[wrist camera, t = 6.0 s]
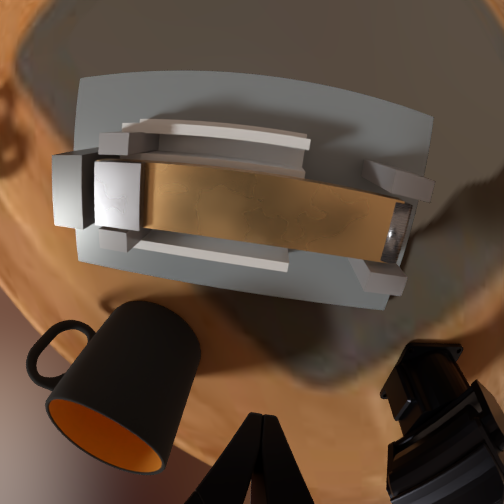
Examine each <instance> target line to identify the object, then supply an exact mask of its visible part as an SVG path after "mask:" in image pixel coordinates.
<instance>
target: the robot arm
mask: <svg viewBox="0 0 504 504" xmlns="http://www.w3.org/2000/svg"><path fill="white" fill-rule="evenodd" d="M411 348H412V349H411ZM462 351H463V347H462V345H461V344H431V343H409V344H407V345H406V346H405V348H404V350H403V352H402V354H401V356H400V358H399V360H398V362H397V363H396V365H395V367H394V368H393V370H392V372H391V374H390V376H389V377H388V379H387V381H386V383H385V384H384V387H383V388H382V390H381V392H380V397H381V398H382V399H388V401H389V404H390V407H391V411H392V414H393V417H394V419H395V421H399V423H400V427H401V430H402V434H403V437H402V438H400V439H399V440H397V441H396V442H392V443H390V444H389V445H388V463H387V481H386V482H387V487H386V490H387V492H388V494H389V496H390V498H391V499H390V501H391V503H392V504H504V413H503V411H502V410H501V408H500V406H499V405H498V403H497V401H496V400H495V398H494V396H493V395H492V394H491V393H490V392H489V391H488V390H487V389H486V388H485V387H484V386H483V385H482V384H481V383H480V382H479V381H478V380H477V379H476V380H475V381H474V382H473V383H472V384H471V386H470V385H469V384H468V382H467V380H466V378H465V376H464V375H463V373H462V371H461V370H460V368H459V366H458V364H457V363H456V361H457V360H458V358H459V356H460V355H461V353H462ZM250 481H251V502H250V503H251V504H314V501H313V499H312V497H311V495H310V492H309V490H308V488H307V486H306V483H305V481H304V479H303V477H302V474H301V472H300V470H299V468H298V465H297V463H296V461H295V458H294V456H293V454H292V451H291V449H290V447H289V444H288V442H287V440H286V437H285V435H284V432H283V430H282V428H281V425H280V423H279V420H278V418H277V417H276V416H274V415H267V414H265V415H262V414H260V413H253V412H250V413H249V414H248V416H247V417H246V419H245V420H244V422H243V423H242V425H241V426H240V428H239V429H238V431H237V432H236V434H235V435H234V437H233V438H232V440H231V441H230V443H229V444H228V445H227V447H226V448H225V450H224V451H223V453H222V454H221V455H220V457H219V458H218V460H217V461H216V462H215V464H214V465H213V467H212V468H211V469H210V471H209V472H208V473H207V475H206V476H205V478H204V479H203V480H202V482H201V483H200V484H199V486H198V487H197V488H196V489H195V491H194V492H193V493H192V494H191V496H190V497H189V498H188V500H187V501H186V502H185V503H184V504H243V502H244V500H245V496H246V493H247V490H248V487H249V484H250Z"/></svg>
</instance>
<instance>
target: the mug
mask: <svg viewBox="0 0 504 504" xmlns="http://www.w3.org/2000/svg"><path fill="white" fill-rule="evenodd" d="M70 329H76V330H79V331H81V332H83V333H84V334H85V335H86V336H87V338H88V343H87V345H86V347H85V348H84V349H83V350H82V352H81V353H80V354H79V356H78V357H77V358H76V360H75V361H74V362H73V364H72V365H71V366H70V368H69V369H68V370H67V372H66V373H64V374H62V375H60V376H57V377H50V378H49V377H43V376H41V375H39V373H38V371H37V367H36V364H37V359H38V357H39V355H40V354H41V352H42V351H43V350H44V349H45V348H46V347H47V345H48V344H49V343H50V342H51V341H52V340H53V339H54V338H55V337H56V336H57V335H58V334H59V333H61V332H63V331H65V330H70ZM200 358H201V350H200V344H199V342H198V339H197V337H196V335H195V334H194V332H193V330H192V329H191V328H190V327H189V325H188V324H187V323H186V322H185V321H184V320H183V319H182V318H181V317H179V316H178V315H177V314H175V313H174V312H172V311H171V310H169V309H167V308H165V307H163V306H160V305H157V304H155V303H150V302H146V301H133V302H128V303H125V304H122V305H121V306H119V307H117V308H116V309H115V310H114V312H113V313H112V314H111V315H110V316H109V318H108V319H107V320H106V321H105V322H104V324H103V325H102V326H101V327H100V329H99V330H98V331H97V332H96V333H95V331H94V330H93V329H92V328H91V327H90V326H88V325H87V324H85V323H82V322H80V321H76V320H66V321H62V322H59V323H57V324H55V325H53V326H52V327H51V328H49V329H48V330H47V331H46V332H45V334H44V335H43V336H42V337H41V338H40V339H39V340H38V341H37V342H36V343H35V344H34V346H33V347H32V348H31V349H30V351H29V353H28V356H27V360H26V369H27V372H28V375H29V377H30V378H31V380H32V381H33V382H34V383H35V384H37V385H38V386H40V387H43V388H45V389H48V390H50V391H52V393H51V394H50V396H49V397H48V399H47V400H46V403H45V407H46V412H47V414H48V416H49V418H50V419H51V421H52V423H53V424H54V425H55V427H56V428H57V429H58V430H59V431H60V432H61V433H62V434H63V435H64V436H65V437H66V438H67V439H68V440H69V441H70V442H72V443H73V444H74V445H75V446H76V447H78V448H79V449H81V450H82V451H84V452H85V453H86V454H88V455H90V456H91V457H93V458H95V459H97V460H99V461H101V462H102V463H105V464H107V465H109V466H112V467H114V468H117V469H119V470H123V471H126V472H130V473H135V474H141V475H154V474H158V473H161V472H162V471H163V470H164V469H165V467H166V464H167V461H168V458H169V455H170V452H171V449H172V446H173V442H174V439H175V436H176V433H177V430H178V427H179V424H180V420H181V417H182V414H183V411H184V408H185V405H186V402H187V399H188V396H189V393H190V389H191V386H192V383H193V380H194V377H195V374H196V371H197V368H198V365H199V362H200Z"/></svg>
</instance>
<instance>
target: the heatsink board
mask: <svg viewBox="0 0 504 504" xmlns="http://www.w3.org/2000/svg"><path fill="white" fill-rule="evenodd" d="M433 119H434V117H432V116H430V115H427V114H424V113H421V112H419V111H416V110H413V109H410V108H407V107H405V106H402V105H398V104H395V103H392V102H389V101H386V100H382V99H379V98H376V97H372V96H368V95H365V94H361V93H357V92H353V91H348V90H345V89H340V88H336V87H331V86H327V85H322V84H317V83H312V82H306V81H300V80H294V79H288V78H281V77H273V76H266V75H256V74H247V73H235V72H219V71H189V70H188V71H187V70H186V71H185V70H178V71H177V70H175V71H144V72H129V73H118V74H108V75H100V76H92V77H85V78H80V84H79V91H78V100H77V109H76V121H75V135H74V151H72V152H66V153H61V154H56V155H52V192H53V211H54V223H55V225H57V226H63V227H69V228H75V230H76V241H77V251H78V260H79V261H82V262H86V263H91V264H95V265H100V266H105V267H110V268H115V269H120V270H125V271H130V272H135V273H140V274H145V275H150V276H155V277H161V278H166V279H171V280H177V281H183V282H188V283H194V284H200V285H205V286H211V287H217V288H223V289H229V290H236V291H242V292H248V293H255V294H261V295H268V296H275V297H282V298H289V299H296V300H303V301H311V302H318V303H326V304H334V305H342V306H350V307H359V308H368V309H377V310H384V309H385V306H386V304H387V301H388V298H389V296H390V295H395V296H401V295H402V292H403V290H404V287H405V284H406V281H407V279H408V277H407V276H406V275H405V273H404V272H403V271H402V270H401V268H400V264H401V261H402V258H403V255H404V251H405V248H406V245H407V242H408V238H409V235H410V231H411V228H412V224H413V220H414V216H415V213H416V208H417V204H418V200H420V201H424V202H428V203H430V202H431V197H432V194H433V189H434V185H435V181H434V180H431V179H428V178H425V177H424V173H425V168H426V163H427V158H428V152H429V146H430V140H431V133H432V126H433ZM104 158H112V159H135V160H152V161H166V162H179V163H190V164H201V165H210V166H219V167H228V168H236V169H244V170H252V171H259V172H266V173H273V174H280V175H286V176H292V177H298V178H304V179H310V180H316V181H321V182H327V183H332V184H337V185H342V186H347V187H352V188H357V189H362V190H366V191H371V192H375V193H380V194H384V195H388V196H393V197H397V198H399V199H401V200H403V201H405V202H407V203H410V204H412V205H413V207H412V211H411V215H410V219H409V223H408V226H407V230H406V234H405V237H404V240H403V244H402V247H401V251H400V254H399V257H398V260H397V263H394V264H391V263H381V262H375V261H368V260H362V259H356V258H349V257H342V256H336V255H329V254H323V253H316V252H310V251H303V250H296V249H289V248H283V247H276V246H269V245H262V244H256V243H249V242H242V241H235V240H228V239H221V238H214V237H207V236H200V235H193V234H186V233H179V232H172V231H164V230H157V229H150V228H142V229H141V230H140V231H135V230H128V229H121V228H114V227H106V226H99V225H95V204H94V167H95V161H97V160H100V159H104Z"/></svg>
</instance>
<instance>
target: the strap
mask: <svg viewBox="0 0 504 504" xmlns="http://www.w3.org/2000/svg"><path fill="white" fill-rule="evenodd" d="M94 204H95V225H99V226H106V227H114V228H121V229H128V230H135V231H140V230H141V229H142V228H150V229H157V230H164V231H172V232H179V233H186V234H193V235H200V236H207V237H214V238H221V239H228V240H235V241H242V242H249V243H256V244H262V245H269V246H276V247H283V248H289V249H296V250H303V251H310V252H316V253H323V254H329V255H336V256H342V257H349V258H356V259H362V260H368V261H375V262H381V263H391V264H394V263H397V260H398V257H399V254H400V251H401V247H402V244H403V240H404V237H405V234H406V230H407V226H408V223H409V219H410V215H411V211H412V207H413V205H412V204H410V203H407V202H405V201H403V200H401V199H399V198H397V197H393V196H388V195H384V194H380V193H375V192H371V191H366V190H362V189H357V188H352V187H347V186H342V185H337V184H332V183H327V182H321V181H316V180H310V179H304V178H298V177H292V176H286V175H280V174H273V173H266V172H259V171H252V170H244V169H236V168H228V167H219V166H210V165H201V164H190V163H179V162H166V161H152V160H135V159H112V158H104V159H100V160H97V161H95V167H94Z"/></svg>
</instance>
